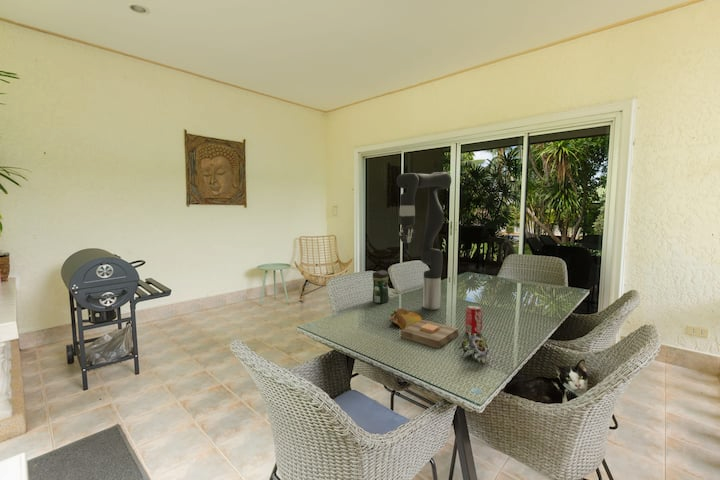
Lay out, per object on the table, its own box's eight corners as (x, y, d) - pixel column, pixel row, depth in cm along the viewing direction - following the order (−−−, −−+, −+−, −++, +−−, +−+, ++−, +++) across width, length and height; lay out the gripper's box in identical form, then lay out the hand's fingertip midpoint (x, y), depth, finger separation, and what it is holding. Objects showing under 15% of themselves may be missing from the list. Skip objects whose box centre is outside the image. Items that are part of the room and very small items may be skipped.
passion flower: (481, 376, 124) (481, 359, 117) (453, 363, 130) (452, 346, 123) (492, 352, 130) (493, 334, 123) (465, 340, 136) (464, 322, 129)
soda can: (483, 331, 153) (484, 306, 152) (479, 337, 147) (480, 310, 146) (467, 329, 157) (467, 303, 156) (463, 334, 151) (464, 307, 150)
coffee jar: (380, 298, 208) (380, 268, 206) (390, 301, 203) (390, 270, 201) (370, 302, 201) (370, 271, 199) (380, 304, 196) (380, 272, 194)
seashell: (426, 313, 167) (417, 317, 154) (423, 328, 167) (414, 333, 154) (395, 304, 175) (384, 307, 161) (392, 319, 175) (381, 323, 161)
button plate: (422, 325, 161) (422, 319, 161) (458, 335, 149) (458, 328, 149) (401, 337, 147) (401, 330, 147) (438, 348, 136) (438, 341, 135)
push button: (427, 330, 152) (427, 323, 152) (439, 334, 149) (439, 326, 148) (420, 334, 148) (420, 327, 148) (432, 338, 144) (432, 330, 144)
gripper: (408, 214, 172) (407, 248, 174) (393, 215, 162) (392, 251, 164) (421, 214, 168) (420, 249, 169) (406, 215, 158) (405, 252, 159)
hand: (406, 250), depth 167 cm, fingers closed
